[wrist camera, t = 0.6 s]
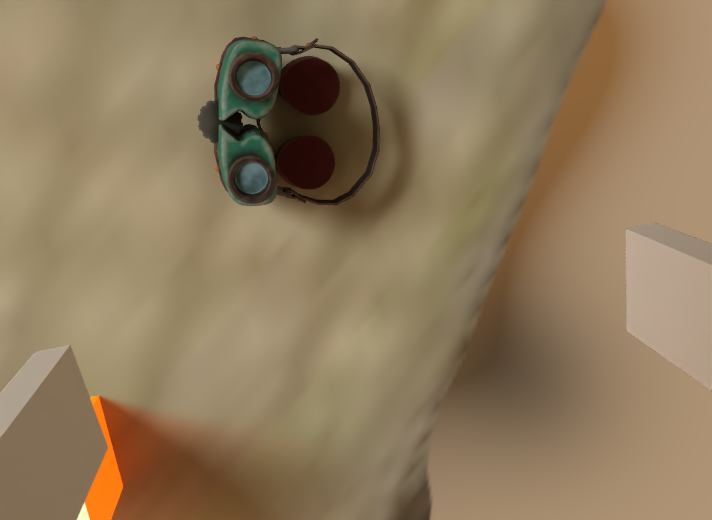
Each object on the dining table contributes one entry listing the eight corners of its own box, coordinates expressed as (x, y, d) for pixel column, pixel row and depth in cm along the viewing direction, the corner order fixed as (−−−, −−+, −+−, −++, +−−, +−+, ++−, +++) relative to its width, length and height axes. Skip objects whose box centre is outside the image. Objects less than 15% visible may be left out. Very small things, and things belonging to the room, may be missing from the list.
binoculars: (408, 232, 27) (196, 228, 25) (356, 192, 37) (199, 187, 35) (428, 36, 25) (195, 11, 22) (367, 49, 35) (199, 32, 32)
